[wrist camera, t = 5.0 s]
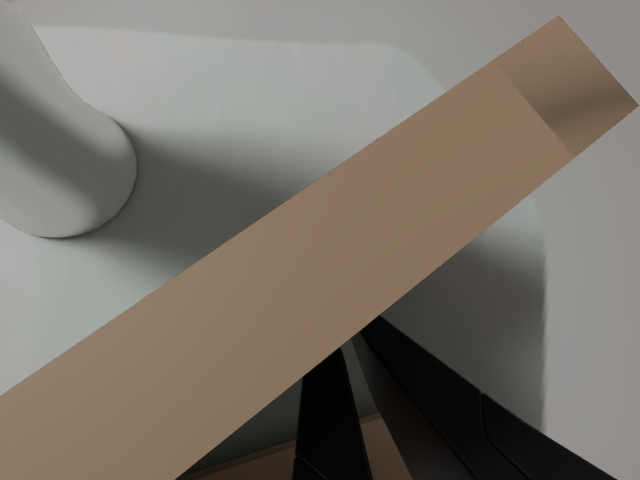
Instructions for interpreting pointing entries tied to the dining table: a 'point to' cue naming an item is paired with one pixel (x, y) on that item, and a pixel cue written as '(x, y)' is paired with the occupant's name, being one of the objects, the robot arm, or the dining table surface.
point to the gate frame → (277, 462)
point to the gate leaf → (307, 273)
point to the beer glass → (54, 143)
